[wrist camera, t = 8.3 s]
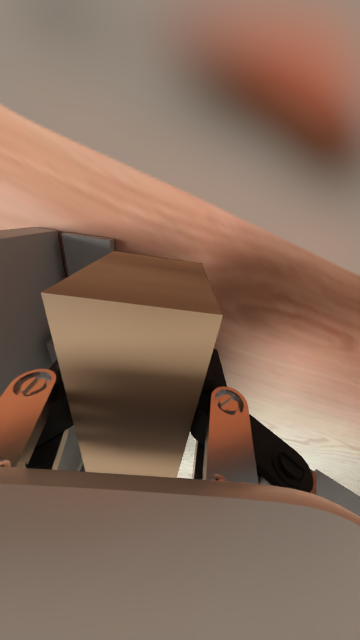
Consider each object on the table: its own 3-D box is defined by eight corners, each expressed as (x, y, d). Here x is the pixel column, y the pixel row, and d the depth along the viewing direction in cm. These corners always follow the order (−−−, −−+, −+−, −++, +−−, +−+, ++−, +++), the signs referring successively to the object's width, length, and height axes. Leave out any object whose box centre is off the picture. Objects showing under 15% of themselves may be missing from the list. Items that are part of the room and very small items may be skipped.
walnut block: (176, 393, 13) (174, 483, 9) (118, 387, 13) (87, 477, 8) (201, 263, 9) (222, 315, 4) (113, 250, 8) (40, 292, 4)
